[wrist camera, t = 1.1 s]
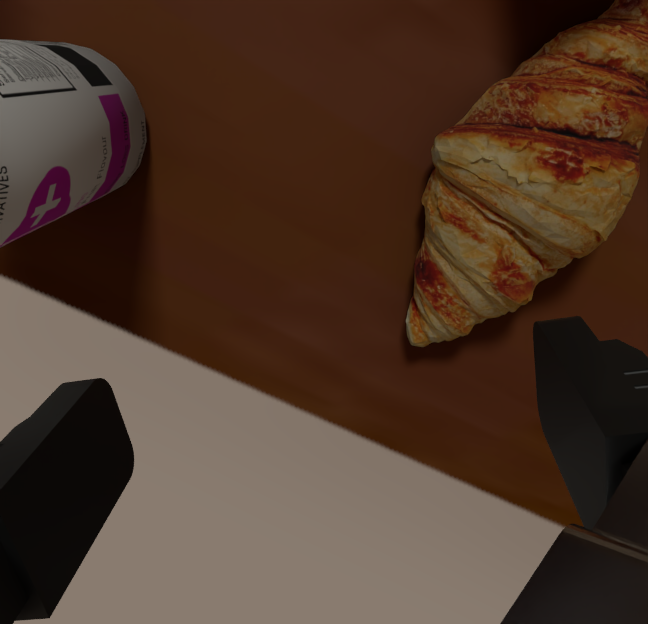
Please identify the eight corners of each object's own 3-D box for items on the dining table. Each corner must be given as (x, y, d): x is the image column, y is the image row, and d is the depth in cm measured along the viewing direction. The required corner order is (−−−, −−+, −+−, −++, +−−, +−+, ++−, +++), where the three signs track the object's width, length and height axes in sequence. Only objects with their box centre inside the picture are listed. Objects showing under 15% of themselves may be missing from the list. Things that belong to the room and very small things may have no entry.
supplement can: (178, 154, 35) (46, 216, 21) (65, 218, 37) (-123, 313, 23) (96, 14, 33) (-114, -19, 19) (-20, 90, 35) (-287, 112, 21)
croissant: (448, 329, 42) (516, 410, 35) (325, 295, 36) (379, 384, 30) (658, 18, 33) (793, 54, 27) (536, -84, 28) (670, -67, 22)
